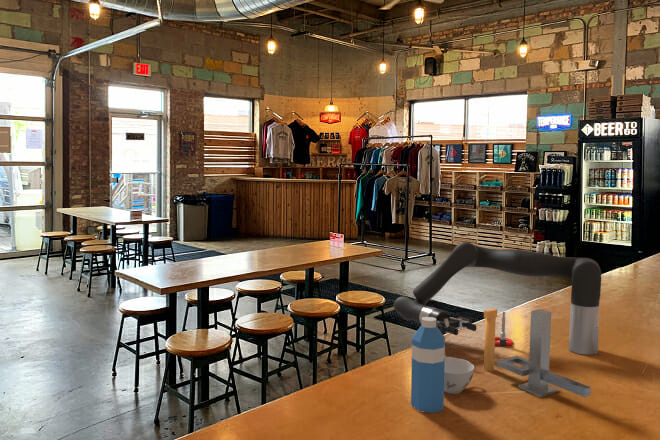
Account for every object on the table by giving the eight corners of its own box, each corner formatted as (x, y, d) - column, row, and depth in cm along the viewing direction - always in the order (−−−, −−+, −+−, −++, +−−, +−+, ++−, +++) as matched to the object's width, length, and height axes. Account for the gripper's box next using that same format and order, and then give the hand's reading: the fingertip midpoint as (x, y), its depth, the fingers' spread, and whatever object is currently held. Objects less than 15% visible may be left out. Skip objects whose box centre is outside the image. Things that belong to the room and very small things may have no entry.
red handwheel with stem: (487, 339, 213) (491, 346, 203) (488, 306, 212) (492, 311, 203) (510, 340, 211) (514, 347, 202) (511, 307, 210) (516, 312, 201)
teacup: (455, 402, 157) (455, 375, 156) (422, 388, 166) (422, 362, 165) (487, 389, 166) (488, 363, 165) (454, 376, 176) (454, 351, 175)
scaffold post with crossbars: (496, 379, 173) (498, 304, 170) (516, 373, 178) (518, 300, 175) (576, 414, 149) (580, 328, 147) (596, 406, 154) (601, 322, 151)
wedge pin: (489, 366, 184) (491, 307, 181) (497, 369, 181) (499, 310, 179) (480, 369, 181) (482, 309, 179) (487, 372, 179) (489, 312, 176)
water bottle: (407, 399, 159) (408, 314, 156) (439, 397, 160) (440, 313, 157) (414, 413, 150) (416, 324, 147) (448, 412, 151) (450, 323, 148)
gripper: (419, 311, 198) (451, 322, 185) (449, 305, 206) (481, 316, 192) (419, 331, 199) (451, 344, 185) (448, 325, 207) (481, 337, 193)
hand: (466, 330), depth 189 cm, fingers open, 8 cm apart
